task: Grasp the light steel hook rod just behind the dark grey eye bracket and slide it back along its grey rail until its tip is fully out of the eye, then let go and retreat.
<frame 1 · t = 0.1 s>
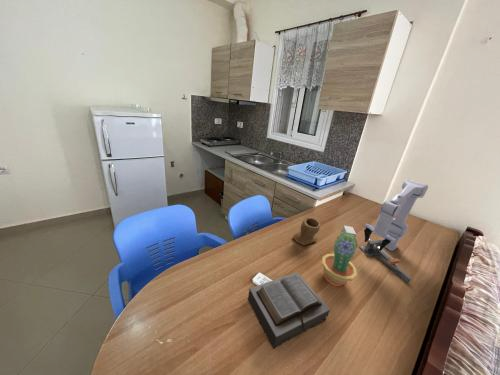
hand: (372, 245, 106), 10 cm above the table, fingers open, 7 cm apart
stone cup: (306, 240, 120), on the table
eye post: (372, 251, 118), on the table
hook: (379, 249, 113), point 4 cm above the table, slide at 0.0 cm
potted cactus: (333, 278, 95), on the table
small box: (344, 244, 121), on the table
bible: (285, 310, 77), on the table
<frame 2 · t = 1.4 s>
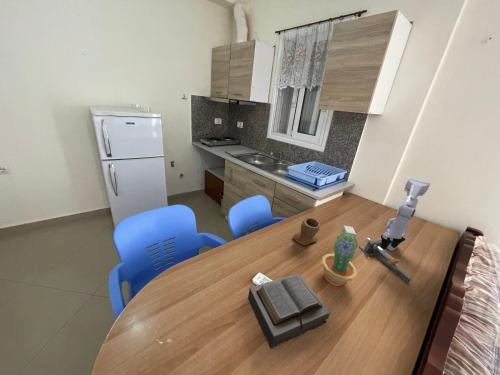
hand: (388, 247, 109), 9 cm above the table, fingers open, 7 cm apart
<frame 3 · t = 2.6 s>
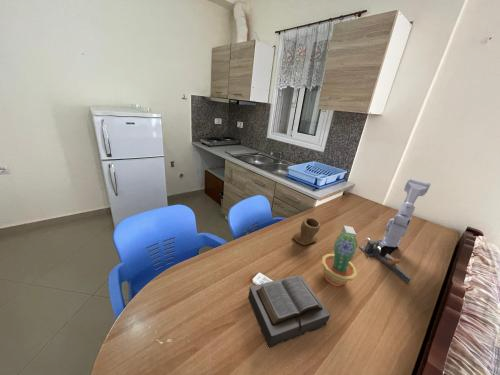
hand: (384, 255, 111), 3 cm above the table, fingers closed on hook, 3 cm apart
hook: (379, 249, 113), point 4 cm above the table, slide at 0.0 cm, touching gripper
everything else where it was.
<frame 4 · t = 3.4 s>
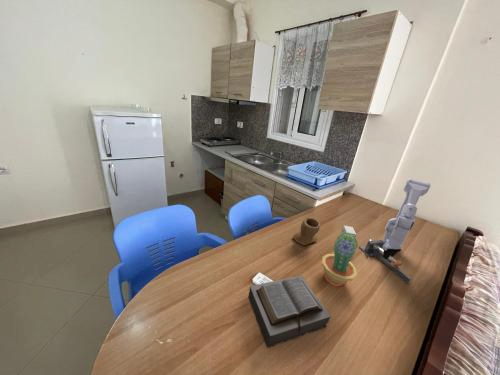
hand: (386, 257, 109), 3 cm above the table, fingers closed on hook, 3 cm apart
hook: (382, 251, 112), point 4 cm above the table, slide at 1.7 cm, touching gripper
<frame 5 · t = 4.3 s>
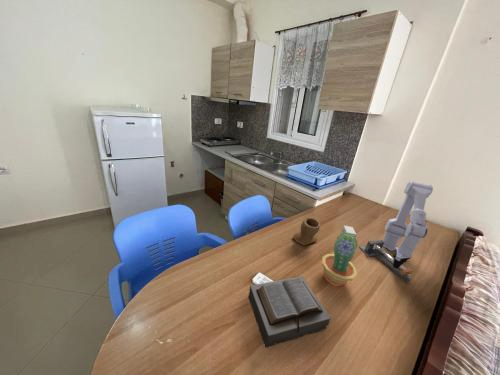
hand: (396, 266, 104), 3 cm above the table, fingers closed on hook, 3 cm apart
hook: (390, 258, 107), point 4 cm above the table, slide at 7.0 cm, touching eye post, gripper
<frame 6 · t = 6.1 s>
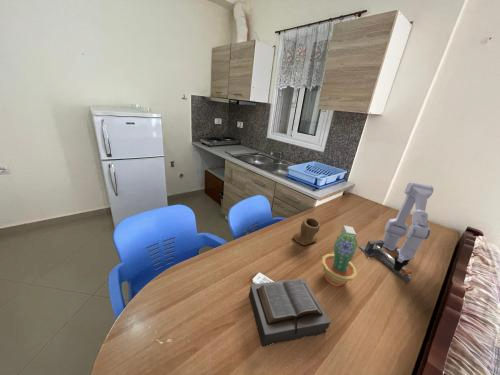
hand: (398, 267, 103), 3 cm above the table, fingers open, 6 cm apart
hook: (390, 258, 107), point 4 cm above the table, slide at 7.1 cm, touching eye post, gripper
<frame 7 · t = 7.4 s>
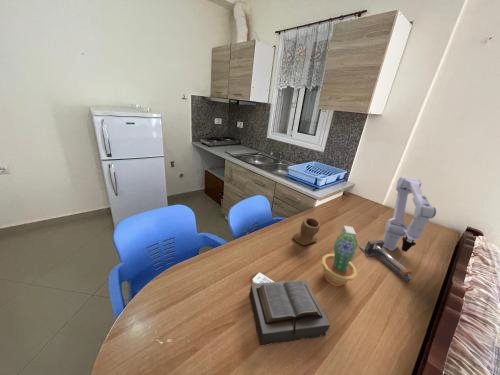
hand: (405, 247, 108), 10 cm above the table, fingers open, 7 cm apart
hook: (390, 258, 107), point 4 cm above the table, slide at 7.1 cm, touching eye post
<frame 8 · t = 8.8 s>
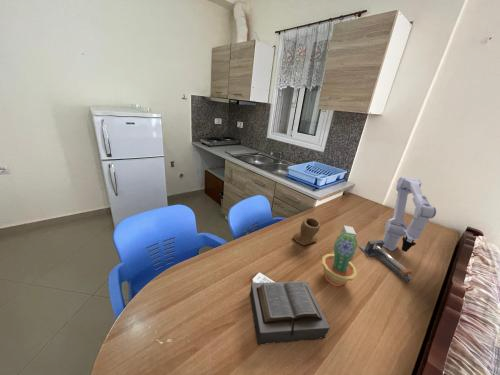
hand: (405, 247, 108), 10 cm above the table, fingers open, 7 cm apart
at the end: hook slide at 7.1 cm; the gripper is holding nothing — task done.
